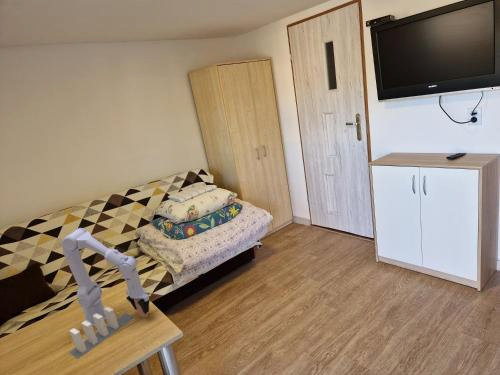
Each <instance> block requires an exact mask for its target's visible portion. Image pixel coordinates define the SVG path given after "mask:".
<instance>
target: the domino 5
mask: <svg viewBox="0 0 500 375" xmlns="http://www.w3.org/2000/svg"><path fill="white" fill-rule="evenodd" d="M140 300H141V299H134V302H135V305H136V308H137V310H136V311H137V314H138V316H140V317H141V318H144V319H146V318H147V317H148V316H149V312H148V313H146V314H144V312H143V310H142V308H141V306H140V305H139V304H138V303H137V302H138V301H140Z"/></svg>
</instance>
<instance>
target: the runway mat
mask: <svg viewBox="0 0 500 375" xmlns="http://www.w3.org/2000/svg"><path fill="white" fill-rule="evenodd" d="M135 318H136V316H134V315H132V314H129V313H127V312H125V313H123V314H121V315H120V316H119V317H116V319H117V322H118V325H119V327H118V328H117V329H114V328H112V327H110V326H109V324H107V325H106V327H107V330H108V333H109V334H108V335H107V336H106V337H104V336H102V335H101V334H99V333H98V331H97V332H95V335H96V338H97V340H98V342H97V343H96V344H95V345H93V344H92V343H90V342H88V340H87V339H86V340H83V342H84V344H85V347H86V351H85V352H83V353H81V352H80V351H78V350H77V349H76V347H75V346H74V348H73V349H71V350H69V351H68V354H70V355H71V356H73V357H75V358H76V359H77V360H79V359H81V358H82V357H83V356H85V355H87V353H89V352H90V351H91V350H93V349H94V348H96V347H97V346H98V345H99V344H101V343H102V342H104V341H105V340H106V339H108V338H109V337H111V336H112V335H113V334H115V333H116V332H118V331H119V330H120V329H121V328H123V327H125V326H126V325H128V323H130V322H131V321H133V320H134V319H135Z"/></svg>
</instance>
